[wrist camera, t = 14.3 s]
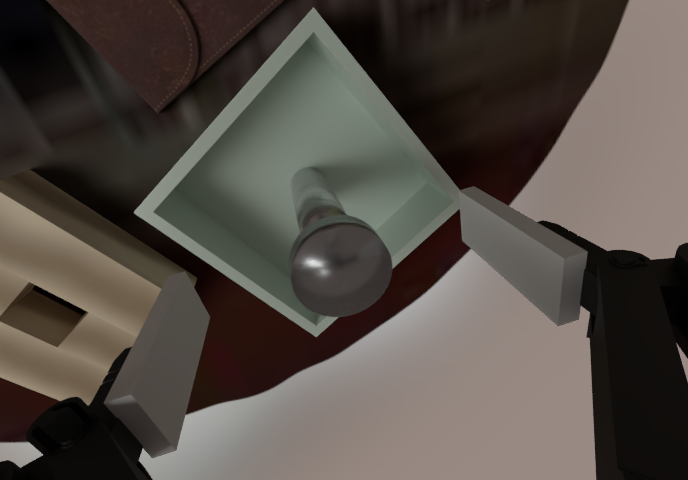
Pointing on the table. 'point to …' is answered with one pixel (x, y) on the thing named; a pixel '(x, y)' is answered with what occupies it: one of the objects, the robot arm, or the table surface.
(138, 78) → the notebook
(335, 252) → the steel pin
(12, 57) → the table surface
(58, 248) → the hitch block
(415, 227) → the parts bin
